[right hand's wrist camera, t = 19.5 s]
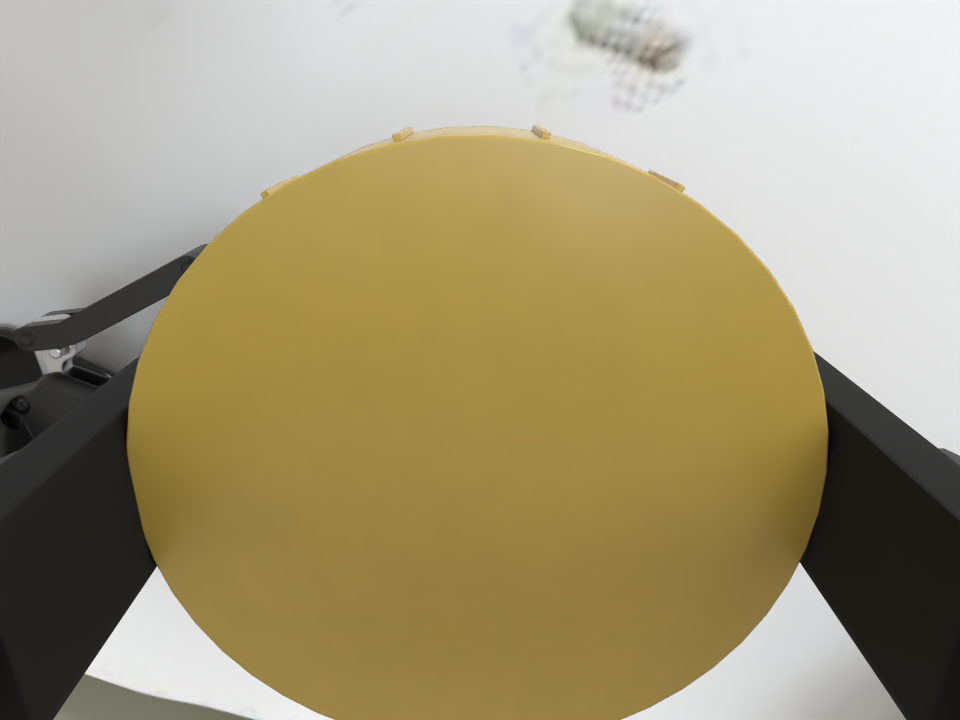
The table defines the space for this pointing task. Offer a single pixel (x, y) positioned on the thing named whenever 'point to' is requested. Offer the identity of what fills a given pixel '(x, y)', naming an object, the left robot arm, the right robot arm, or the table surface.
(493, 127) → the lid
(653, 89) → the table surface
